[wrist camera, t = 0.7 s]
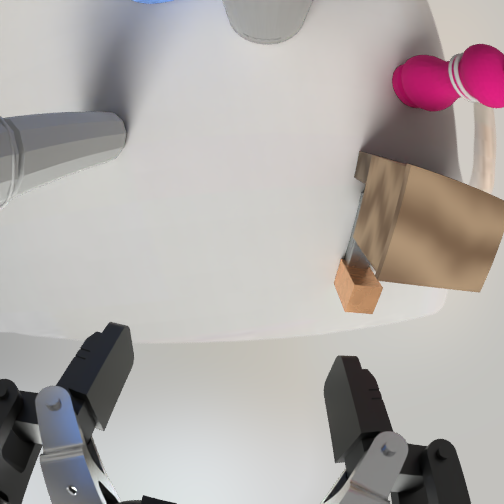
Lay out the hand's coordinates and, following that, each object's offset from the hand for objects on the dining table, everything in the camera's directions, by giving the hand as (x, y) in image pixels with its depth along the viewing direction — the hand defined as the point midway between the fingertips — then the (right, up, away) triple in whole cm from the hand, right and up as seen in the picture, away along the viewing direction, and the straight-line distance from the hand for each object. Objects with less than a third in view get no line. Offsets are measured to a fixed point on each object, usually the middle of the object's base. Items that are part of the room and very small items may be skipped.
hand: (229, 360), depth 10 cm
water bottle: (-20, +20, +23) cm, 36 cm away
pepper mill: (+22, +26, +18) cm, 38 cm away
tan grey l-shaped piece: (+16, +5, +28) cm, 32 cm away
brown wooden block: (+21, +11, +25) cm, 34 cm away
